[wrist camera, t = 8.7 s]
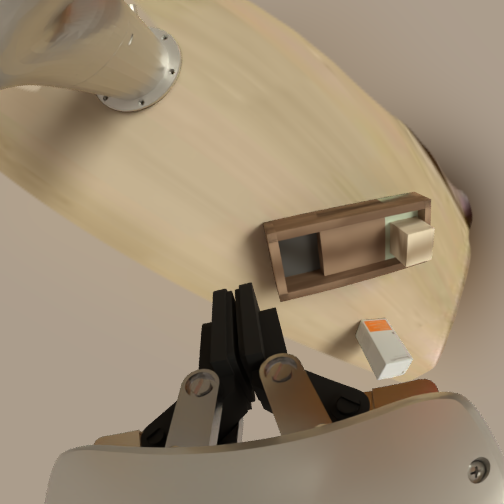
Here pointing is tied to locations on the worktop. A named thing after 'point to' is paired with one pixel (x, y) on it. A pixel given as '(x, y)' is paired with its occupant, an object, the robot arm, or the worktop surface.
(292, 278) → the channel
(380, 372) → the skincare box
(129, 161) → the worktop surface
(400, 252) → the birch block
